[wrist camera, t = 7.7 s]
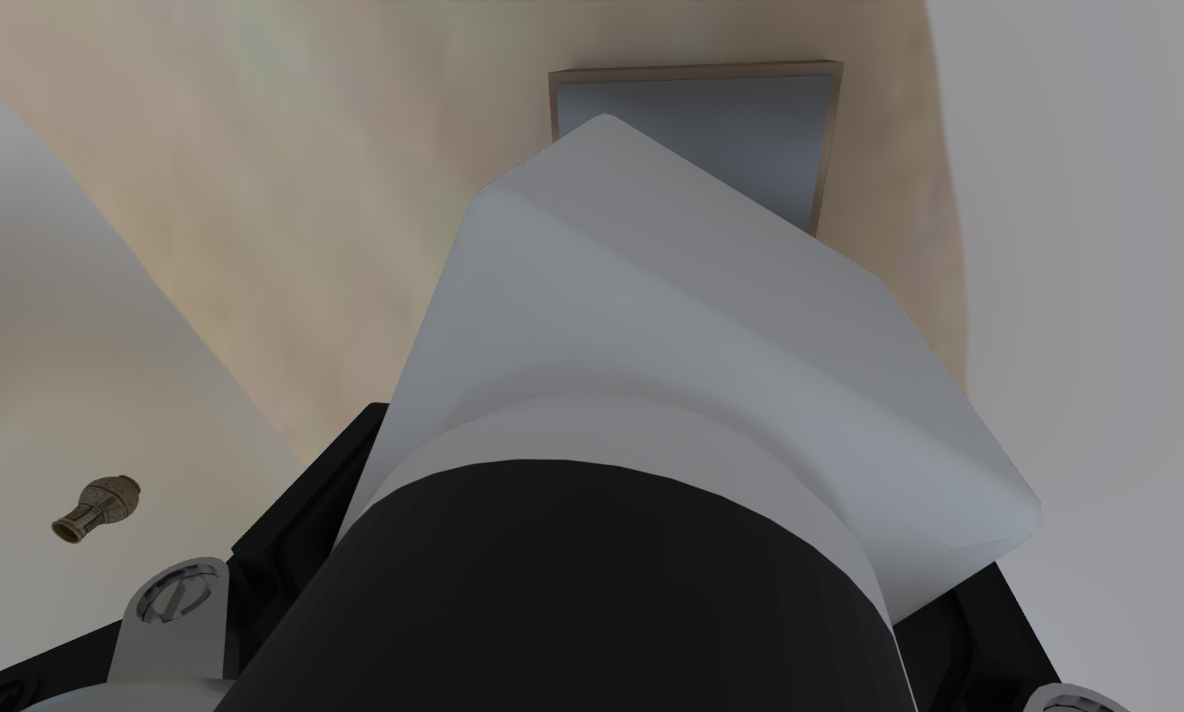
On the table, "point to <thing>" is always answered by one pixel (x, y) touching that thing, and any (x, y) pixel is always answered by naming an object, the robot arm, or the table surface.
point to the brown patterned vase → (99, 507)
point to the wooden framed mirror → (722, 122)
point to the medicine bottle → (646, 468)
